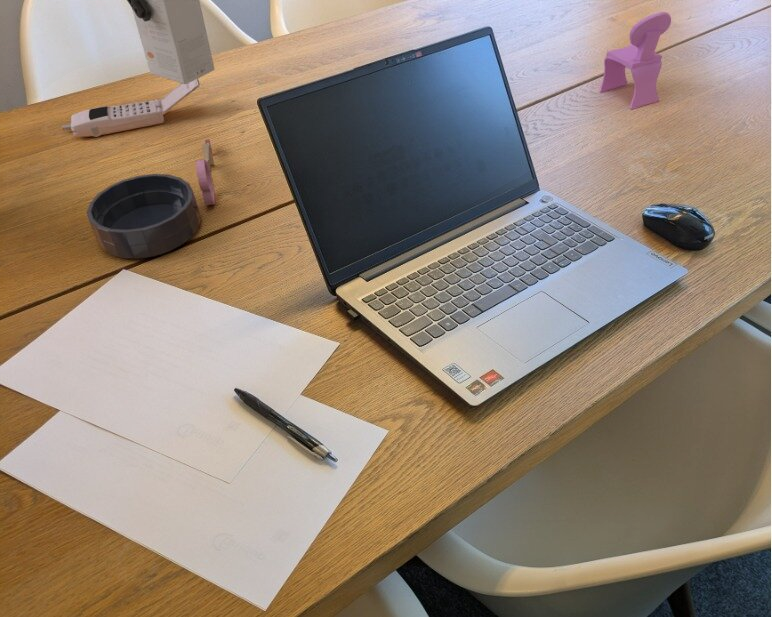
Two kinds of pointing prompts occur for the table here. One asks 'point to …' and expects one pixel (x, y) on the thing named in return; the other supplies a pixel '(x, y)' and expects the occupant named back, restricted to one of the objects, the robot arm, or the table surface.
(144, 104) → the mobile phone
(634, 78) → the toy chair
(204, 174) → the decorative key
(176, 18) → the small box
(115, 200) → the bowl
